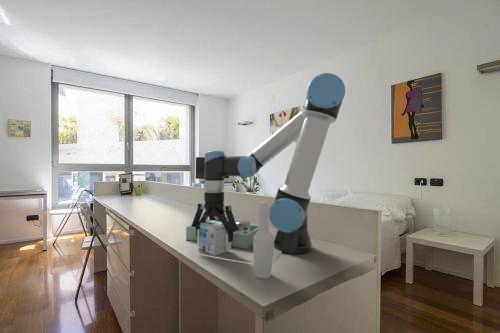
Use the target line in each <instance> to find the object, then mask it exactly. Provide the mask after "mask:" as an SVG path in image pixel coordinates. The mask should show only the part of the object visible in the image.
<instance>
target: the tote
mask: <svg viewBox="0 0 500 333" xmlns="http://www.w3.org/2000/svg"><path fill="white" fill-rule="evenodd" d="M207 221H212V220H209V219H207V220H206V221H205V222H207ZM218 222H221V221H218ZM221 223H222V222H221ZM258 230H259V225H253V224H250V232H249V233H247V234H242V233H235V232H233V241H232V242H231V247H233V248H239V249H249V248H250V247H253V238H254V235H255V234H256V233H257V231H258ZM185 231H186V232H185V234H186V237H185V238H186V239H185V240H186V241H189V242H190V241H195V242H197V237H196V228H195V227H192V224H190V225H187V226H186V230H185Z"/></svg>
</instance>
